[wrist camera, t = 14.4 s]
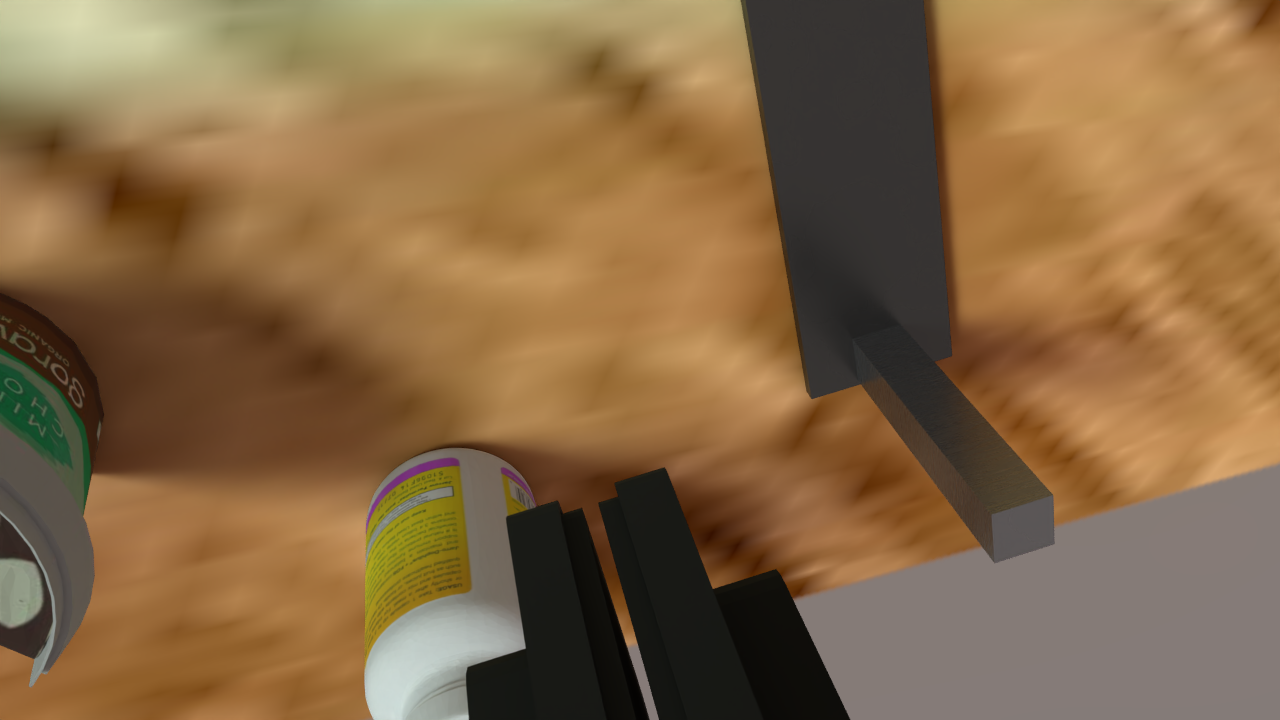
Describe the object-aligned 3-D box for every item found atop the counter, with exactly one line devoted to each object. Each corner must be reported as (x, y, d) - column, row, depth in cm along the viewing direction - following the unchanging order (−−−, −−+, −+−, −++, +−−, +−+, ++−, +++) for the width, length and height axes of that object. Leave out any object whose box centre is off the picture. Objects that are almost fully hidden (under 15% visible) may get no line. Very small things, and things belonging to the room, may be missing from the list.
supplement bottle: (343, 554, 43) (328, 828, 32) (401, 420, 41) (406, 667, 30) (499, 590, 46) (534, 855, 35) (562, 466, 43) (621, 709, 32)
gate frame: (665, -447, 29) (814, -551, 19) (874, -500, 30) (1129, -630, 20) (806, 391, 44) (934, 587, 34) (945, 348, 44) (1113, 529, 34)
